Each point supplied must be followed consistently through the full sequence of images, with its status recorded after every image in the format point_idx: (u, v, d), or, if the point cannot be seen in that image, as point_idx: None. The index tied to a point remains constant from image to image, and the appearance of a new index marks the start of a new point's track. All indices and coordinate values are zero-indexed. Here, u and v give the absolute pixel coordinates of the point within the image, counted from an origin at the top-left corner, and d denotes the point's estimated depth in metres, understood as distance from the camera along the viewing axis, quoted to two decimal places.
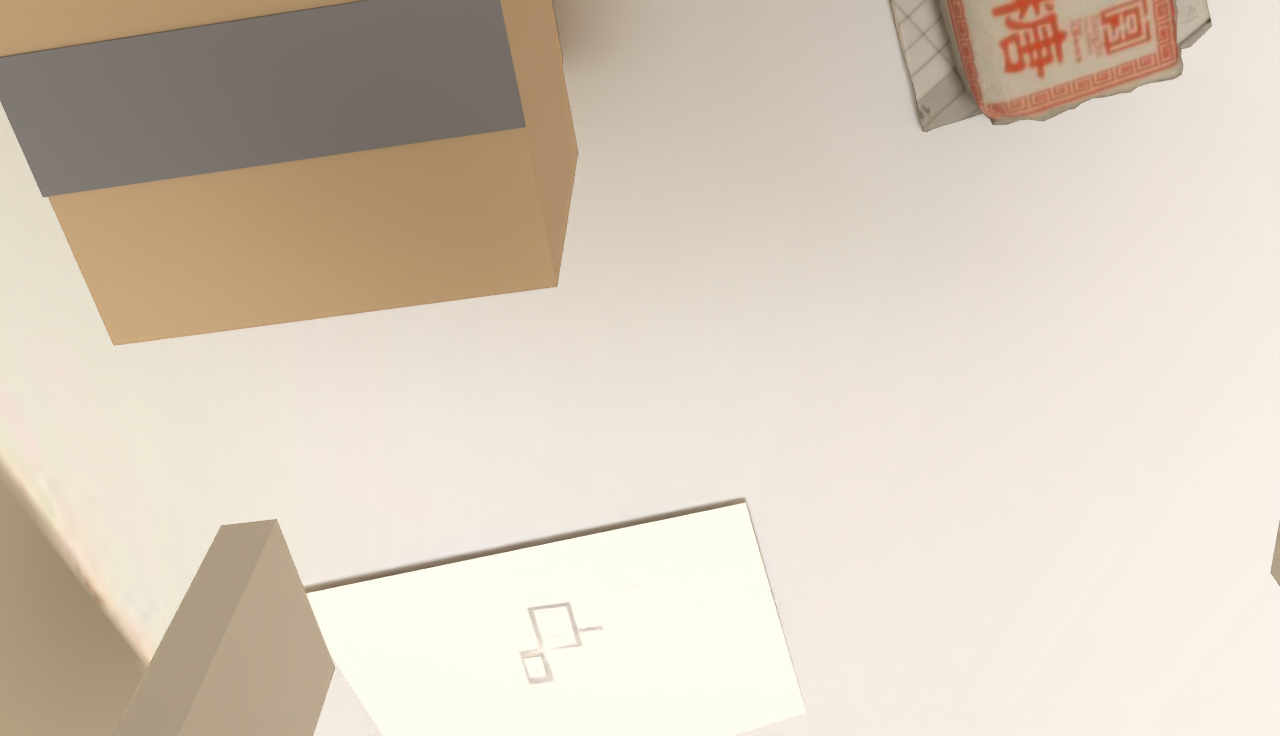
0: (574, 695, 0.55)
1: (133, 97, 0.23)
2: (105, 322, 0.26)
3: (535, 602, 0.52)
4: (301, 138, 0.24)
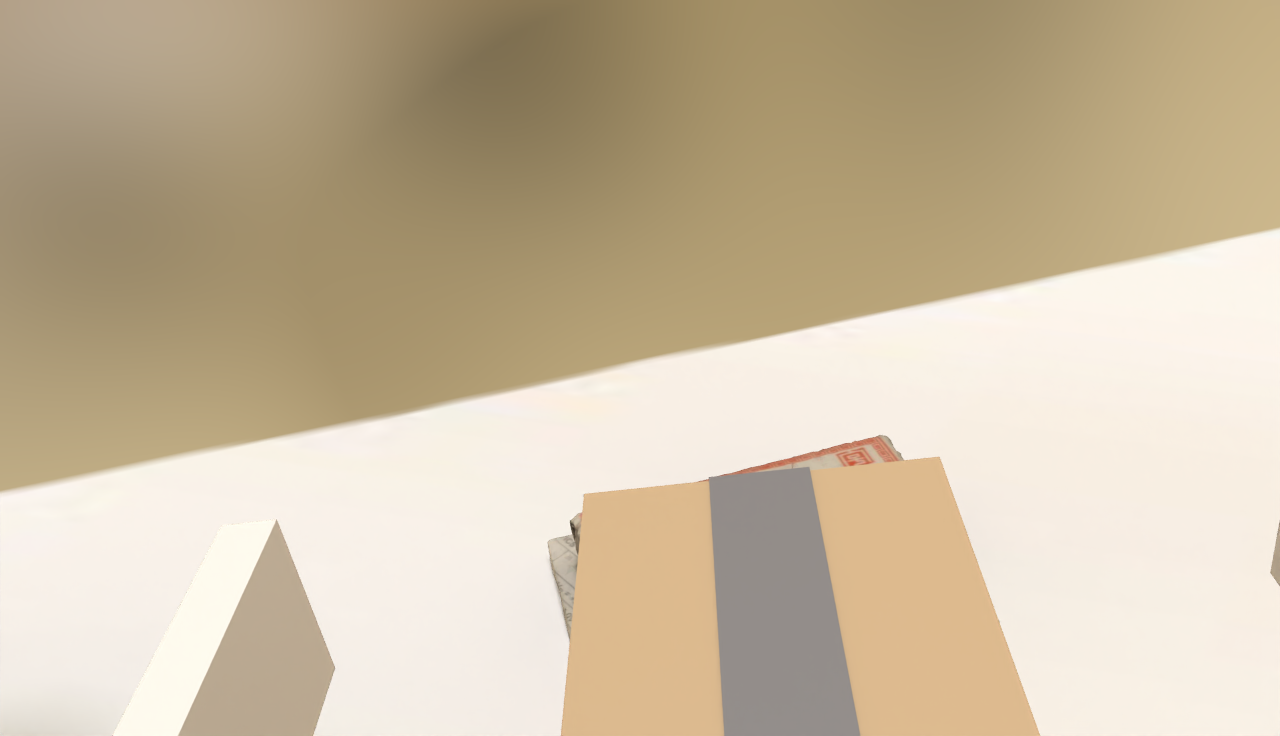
0: None
1: (770, 671, 0.27)
2: None
3: None
4: (812, 575, 0.29)
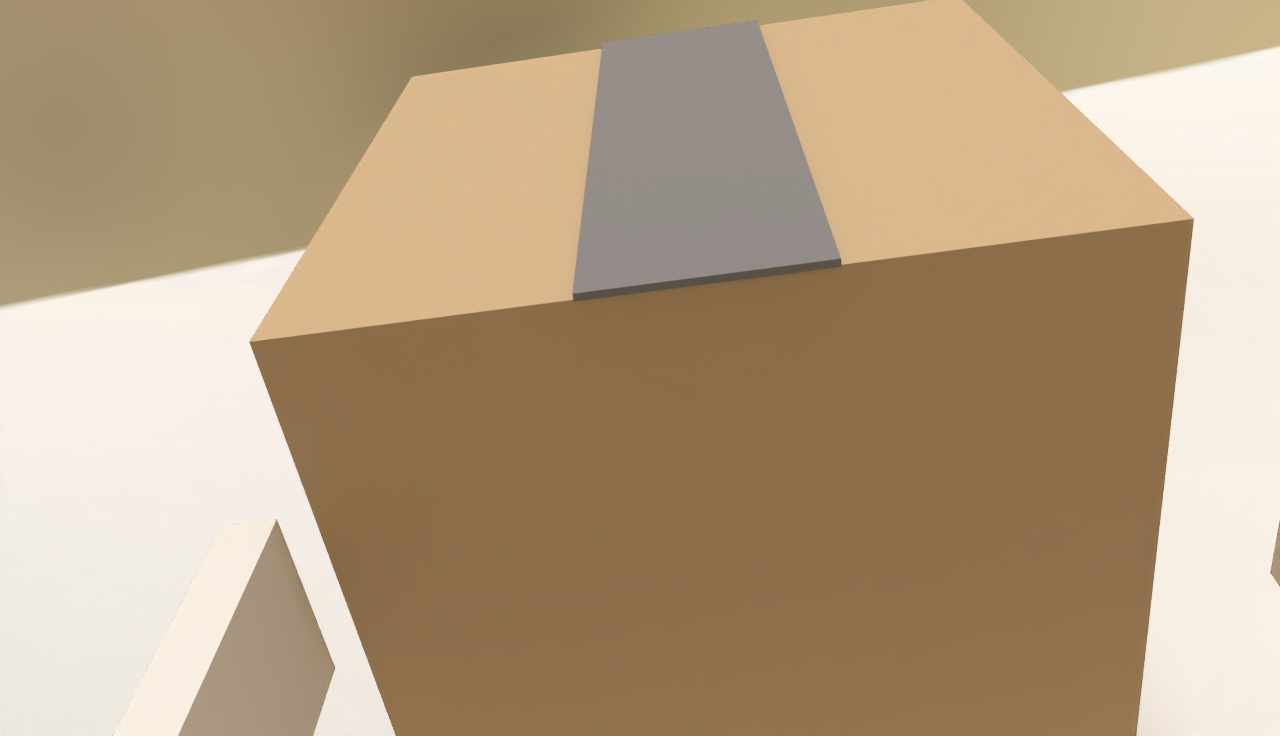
0: None
1: (672, 187, 0.15)
2: (1133, 224, 0.12)
3: None
4: (754, 99, 0.18)
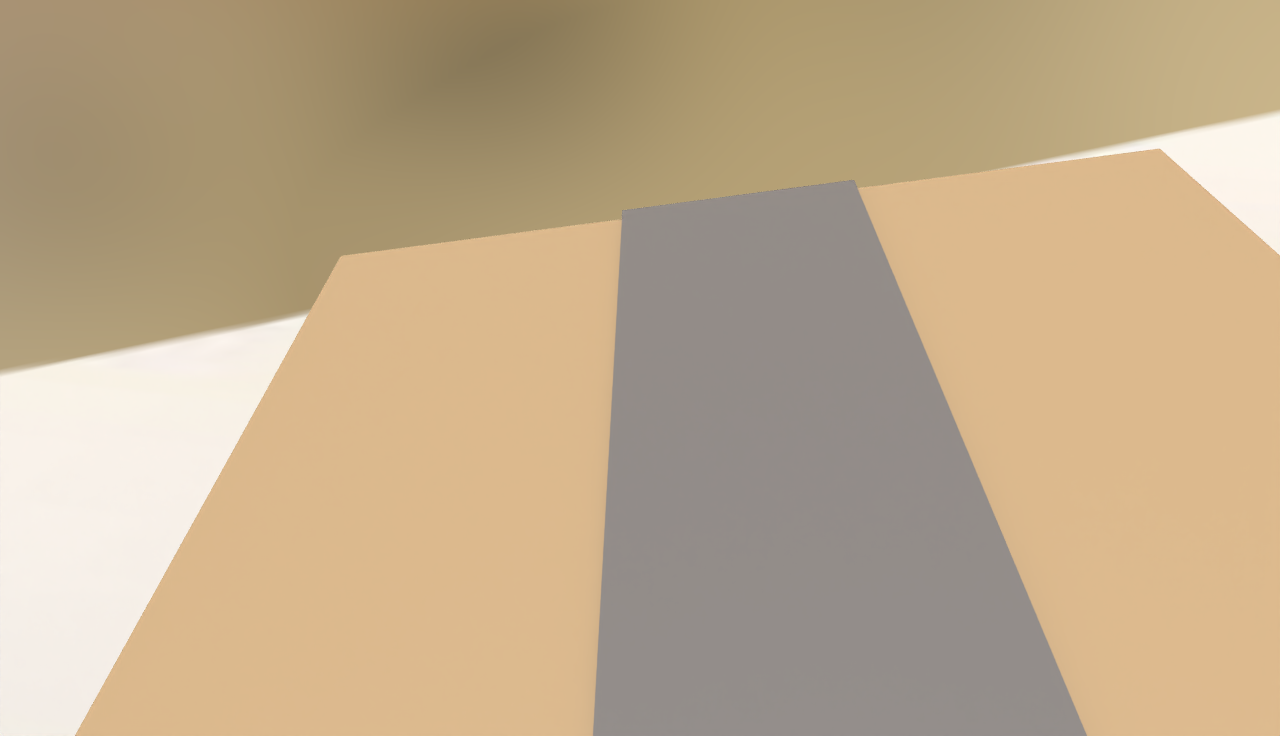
0: None
1: (767, 640, 0.08)
2: None
3: None
4: (883, 376, 0.10)
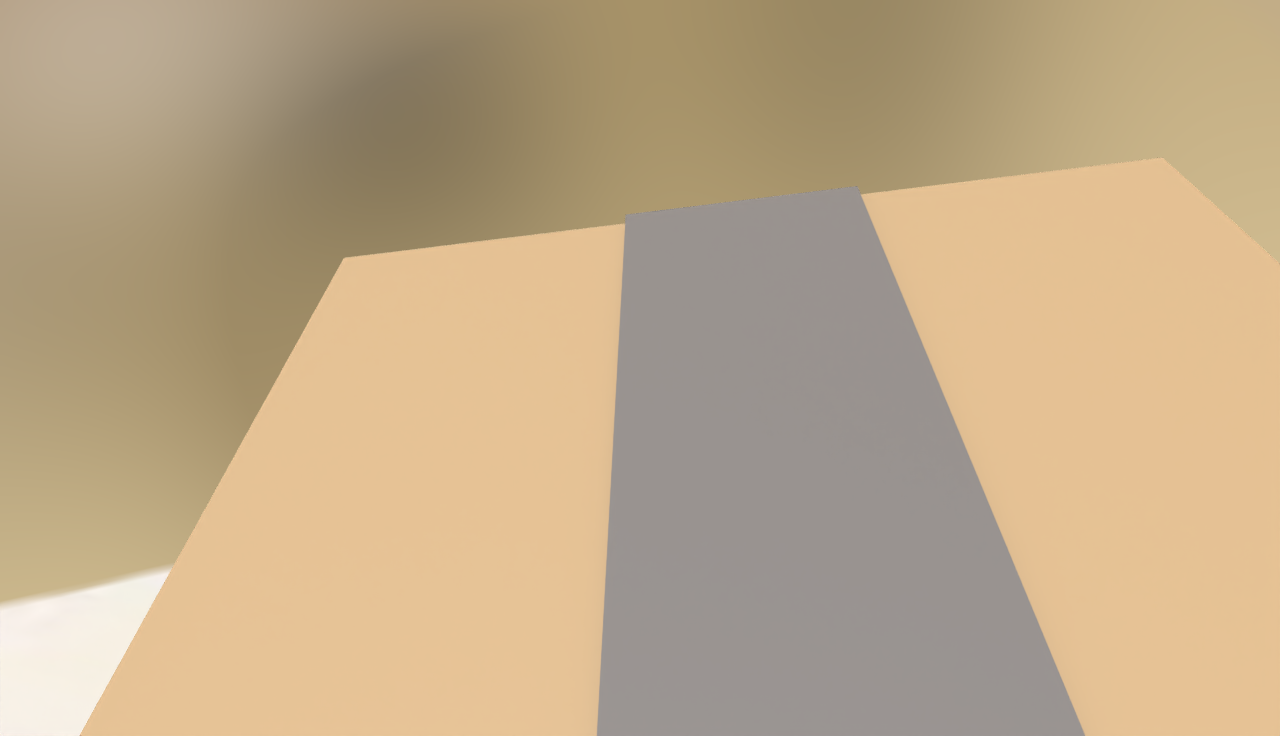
0: None
1: (770, 647, 0.08)
2: None
3: None
4: (886, 384, 0.10)
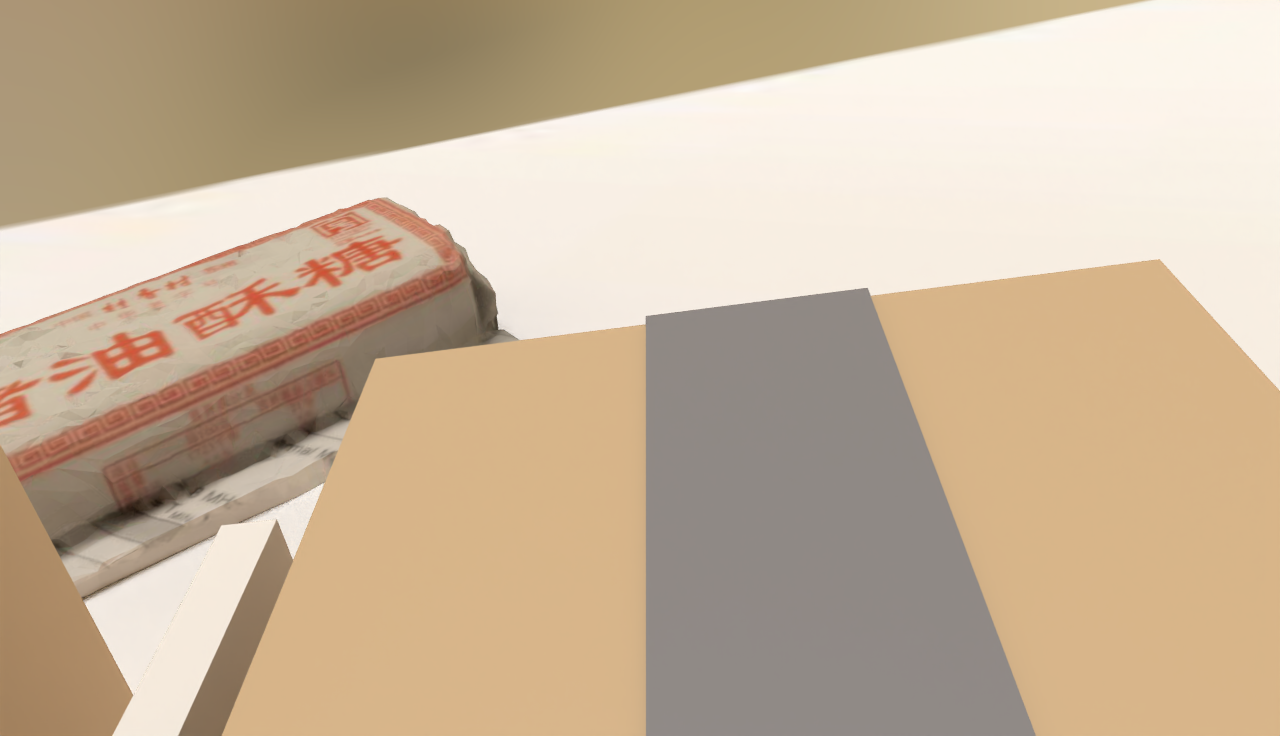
0: None
1: None
2: None
3: None
4: (903, 511, 0.11)
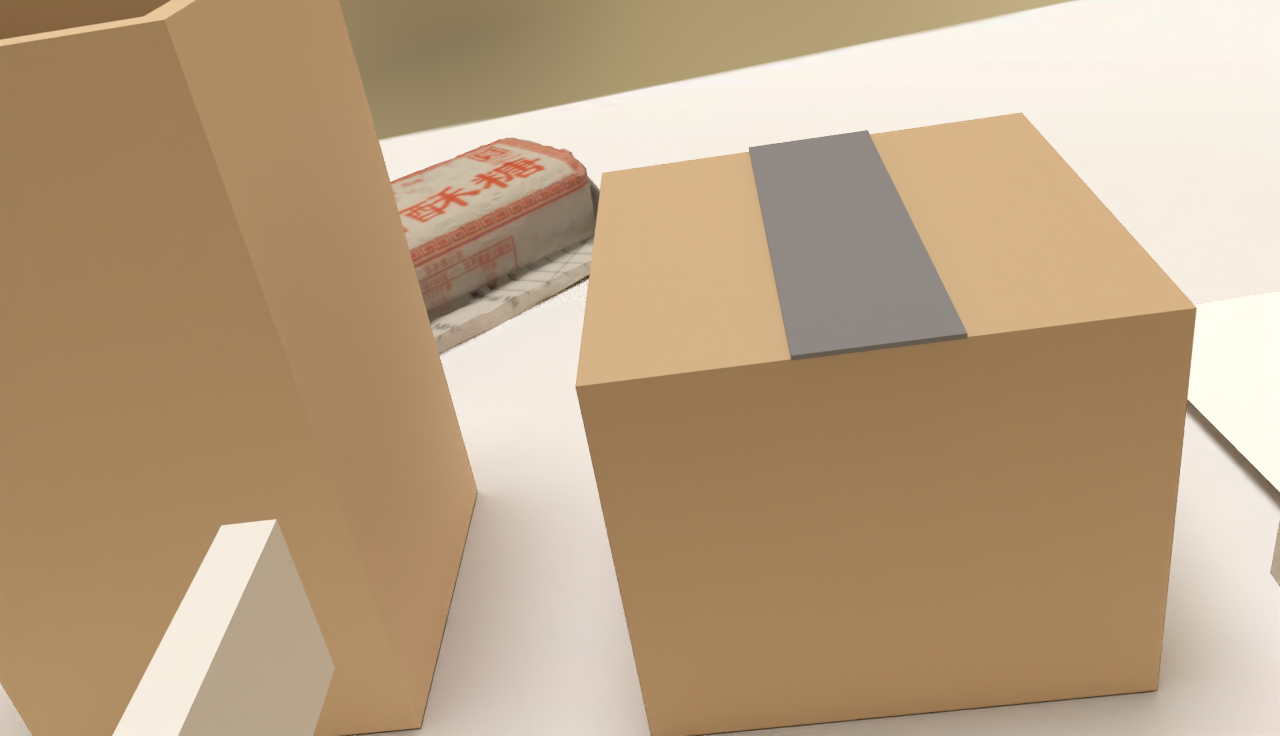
0: None
1: (838, 277, 0.22)
2: (1157, 311, 0.19)
3: None
4: (881, 204, 0.24)
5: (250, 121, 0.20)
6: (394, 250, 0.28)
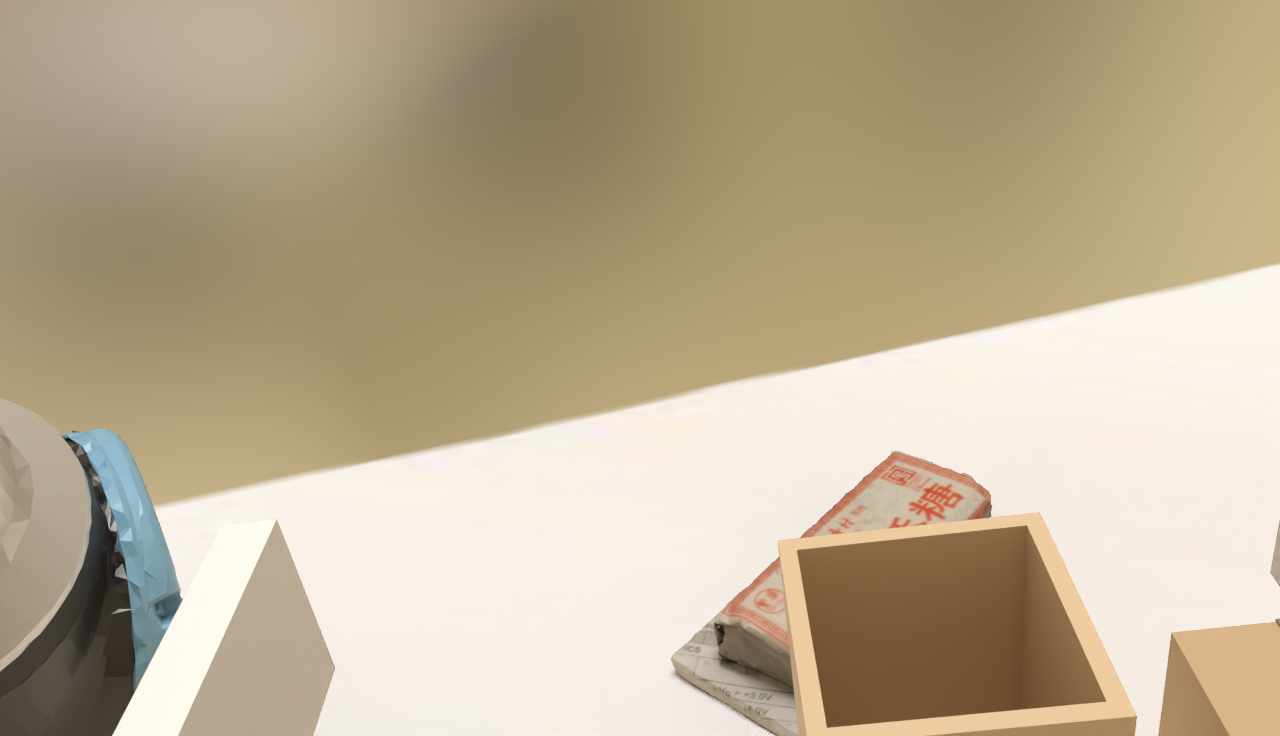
0: None
1: None
2: None
3: None
4: None
5: None
6: None
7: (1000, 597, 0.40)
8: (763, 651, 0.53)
